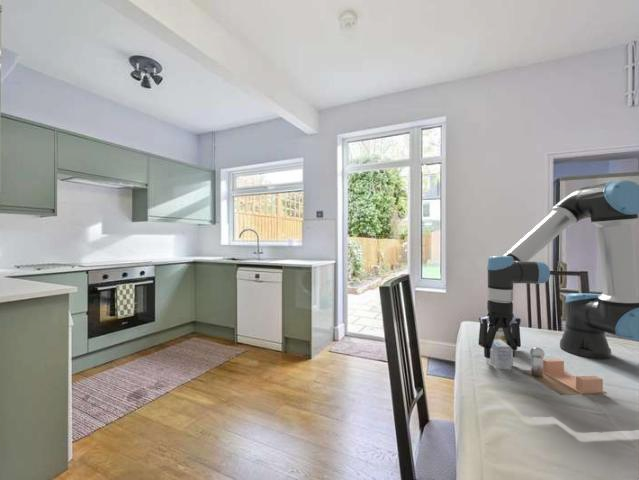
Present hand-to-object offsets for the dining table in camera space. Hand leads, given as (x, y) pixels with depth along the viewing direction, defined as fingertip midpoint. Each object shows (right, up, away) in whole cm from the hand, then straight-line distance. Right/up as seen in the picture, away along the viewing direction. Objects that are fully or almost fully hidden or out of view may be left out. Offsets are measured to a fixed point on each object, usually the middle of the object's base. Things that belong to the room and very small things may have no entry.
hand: (499, 366), depth 100 cm
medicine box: (0, -1, 0) cm, 1 cm away
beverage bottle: (+13, 0, +19) cm, 23 cm away
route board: (+11, 0, -12) cm, 16 cm away
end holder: (+14, +1, -12) cm, 18 cm away
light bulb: (+7, +1, -9) cm, 11 cm away
